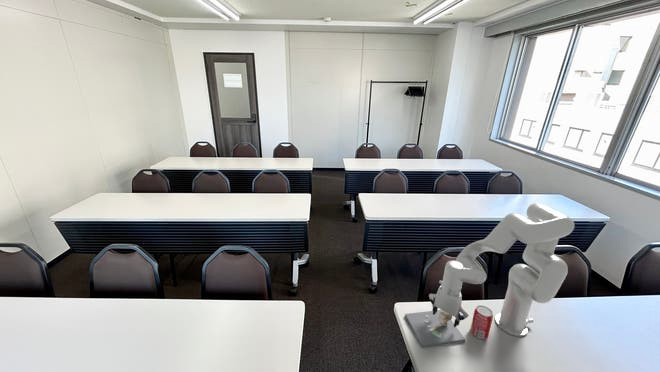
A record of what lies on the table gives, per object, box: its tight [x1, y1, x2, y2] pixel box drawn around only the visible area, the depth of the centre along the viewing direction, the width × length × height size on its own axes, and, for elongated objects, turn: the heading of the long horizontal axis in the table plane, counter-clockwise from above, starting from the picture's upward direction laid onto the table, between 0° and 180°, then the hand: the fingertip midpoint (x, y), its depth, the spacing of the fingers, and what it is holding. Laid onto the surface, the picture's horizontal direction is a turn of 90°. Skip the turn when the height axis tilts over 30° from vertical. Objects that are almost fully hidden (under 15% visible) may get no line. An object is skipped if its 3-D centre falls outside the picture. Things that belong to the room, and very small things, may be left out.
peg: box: [429, 311, 453, 332], centre depth 118 cm, size 12×3×7 cm, turn 118°
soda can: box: [470, 304, 494, 340], centre depth 116 cm, size 7×7×13 cm
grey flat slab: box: [404, 309, 466, 349], centre depth 120 cm, size 20×17×2 cm
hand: (444, 319), depth 120 cm, fingers open, 9 cm apart
